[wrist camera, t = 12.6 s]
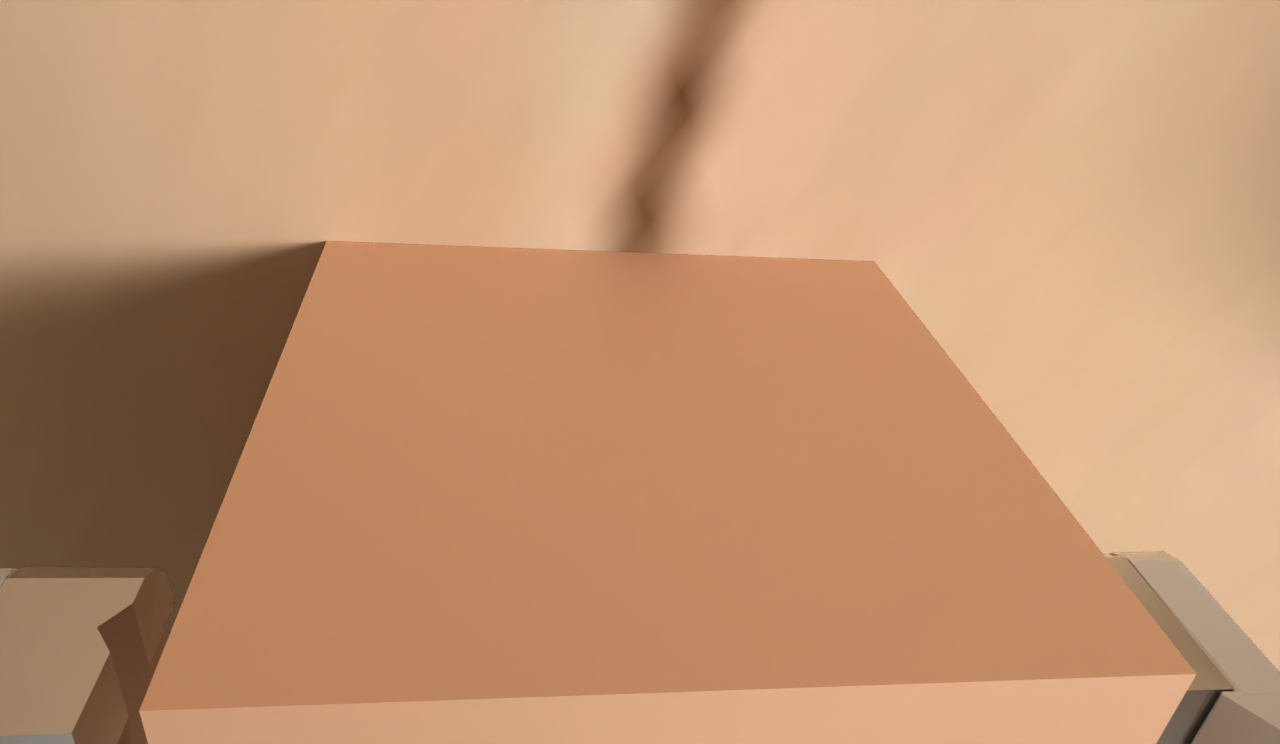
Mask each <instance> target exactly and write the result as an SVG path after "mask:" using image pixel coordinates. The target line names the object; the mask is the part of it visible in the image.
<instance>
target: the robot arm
mask: <svg viewBox="0 0 1280 744" xmlns="http://www.w3.org/2000/svg"><path fill="white" fill-rule="evenodd" d="M1103 555H1104V556H1105V557H1106V559H1107V560H1108V561H1109V562H1110V564H1111V565H1112V566H1113V568H1114V569H1115V570H1116V571H1117V573H1118V574H1119V575H1120V576H1121V578H1122V579H1123V580H1124V582H1125V583H1126V584H1127V585H1128V587H1129V588H1130V589H1131V591H1132V592H1133V593H1134V594H1135V596H1136V597H1137V598H1138V600H1139V601H1140V602H1141V603H1142V605H1143V606H1144V607H1145V608H1146V610H1147V611H1148V612H1149V614H1150V615H1151V616H1152V617H1153V619H1154V620H1155V621H1156V623H1157V624H1158V625H1159V626H1160V628H1161V629H1162V630H1163V632H1164V633H1165V634H1166V635H1167V637H1168V638H1169V639H1170V640H1171V642H1172V643H1173V644H1174V646H1175V647H1176V648H1177V649H1178V651H1179V652H1180V653H1181V655H1182V656H1183V657H1184V658H1185V660H1186V661H1187V662H1188V664H1189V665H1190V666H1191V667H1192V669H1193V670H1194V671H1195V672H1196V676H1195V678H1194V680H1193V681H1192V683H1191V685H1190V686H1189V688H1188V690H1187V691H1186V693H1185V695H1184V697H1183V698H1182V700H1181V702H1180V703H1179V705H1178V707H1177V709H1176V710H1175V712H1174V714H1173V715H1172V717H1171V719H1170V721H1169V722H1168V724H1167V726H1166V727H1165V729H1164V731H1163V733H1162V734H1161V736H1160V738H1159V739H1158V741H1157V743H1156V744H1280V672H1279V671H1278V670H1277V669H1276V668H1275V666H1274V665H1273V664H1272V663H1271V662H1270V661H1269V660H1268V658H1267V657H1266V656H1265V655H1264V654H1263V653H1262V652H1261V651H1260V649H1259V648H1258V647H1257V646H1256V645H1255V644H1254V643H1253V642H1252V640H1251V639H1250V638H1249V637H1248V636H1247V635H1246V634H1245V633H1244V631H1243V630H1242V629H1241V628H1240V627H1239V626H1238V625H1237V624H1236V622H1235V621H1234V620H1233V619H1232V618H1231V617H1230V616H1229V615H1228V613H1227V612H1226V611H1225V610H1224V609H1223V608H1222V607H1221V606H1220V604H1219V603H1218V602H1217V601H1216V600H1215V599H1214V598H1213V597H1212V595H1211V594H1210V593H1209V592H1208V591H1207V590H1206V589H1205V588H1204V586H1203V585H1202V584H1201V583H1200V582H1199V581H1198V580H1197V579H1196V577H1195V576H1194V575H1193V574H1192V573H1191V572H1190V571H1189V570H1188V568H1187V567H1186V566H1185V565H1184V564H1183V563H1182V562H1181V561H1180V560H1178V559H1177V558H1175V557H1173V556H1171V555H1169V554H1167V553H1166V552H1164V551H1156V552H1122V553H1111V554H1103ZM173 606H174V600H173V596H172V593H171V589H170V585H169V582H168V578H167V574H166V573H165V572H163V571H161V570H159V569H156V568H92V567H22V568H21V569H13V568H0V744H148V742H147V738H146V734H145V731H144V727H143V723H142V720H141V716H140V712H139V710H140V708H141V705H142V703H143V700H144V698H145V695H146V693H147V690H148V688H149V685H150V683H151V680H152V678H153V675H154V673H155V670H156V668H157V665H158V663H159V660H160V658H161V655H162V653H163V650H164V647H165V645H166V642H167V640H168V637H169V635H170V632H169V631H168V630H166V629H165V626H166V623H167V621H168V618H169V616H170V613H171V611H172V608H173Z"/></svg>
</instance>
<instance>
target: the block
mask: <svg viewBox="0 0 1280 744" xmlns="http://www.w3.org/2000/svg"><path fill="white" fill-rule="evenodd" d="M1195 676H1196V672H1195V671H1194V670H1193V669H1192V667H1191V666H1190V665H1189V664H1188V662H1187V661H1186V660H1185V658H1184V657H1183V656H1182V655H1181V653H1180V652H1179V651H1178V649H1177V648H1176V647H1175V646H1174V644H1173V643H1172V642H1171V640H1170V639H1169V638H1168V637H1167V635H1166V634H1165V633H1164V632H1163V630H1162V629H1161V628H1160V626H1159V625H1158V624H1157V623H1156V621H1155V620H1154V619H1153V617H1152V616H1151V615H1150V614H1149V612H1148V611H1147V610H1146V608H1145V607H1144V606H1143V605H1142V603H1141V602H1140V601H1139V600H1138V598H1137V597H1136V596H1135V594H1134V593H1133V592H1132V591H1131V589H1130V588H1129V587H1128V585H1127V584H1126V583H1125V582H1124V580H1123V579H1122V578H1121V576H1120V575H1119V574H1118V573H1117V571H1116V570H1115V569H1114V568H1113V566H1112V565H1111V564H1110V562H1109V561H1108V560H1107V559H1106V557H1105V556H1104V555H1103V553H1102V552H1101V551H1100V550H1099V548H1098V547H1097V546H1096V544H1095V543H1094V542H1093V541H1092V539H1091V538H1090V537H1089V535H1088V534H1087V533H1086V532H1085V530H1084V529H1083V528H1082V527H1081V525H1080V524H1079V523H1078V521H1077V520H1076V519H1075V518H1074V516H1073V515H1072V514H1071V512H1070V511H1069V510H1068V509H1067V507H1066V506H1065V505H1064V503H1063V502H1062V501H1061V500H1060V498H1059V497H1058V496H1057V495H1056V493H1055V492H1054V491H1053V489H1052V488H1051V487H1050V486H1049V484H1048V483H1047V482H1046V480H1045V479H1044V478H1043V477H1042V475H1041V474H1040V473H1039V471H1038V470H1037V469H1036V468H1035V466H1034V465H1033V464H1032V463H1031V461H1030V460H1029V459H1028V457H1027V456H1026V455H1025V454H1024V452H1023V451H1022V450H1021V448H1020V447H1019V446H1018V445H1017V443H1016V442H1015V441H1014V439H1013V438H1012V437H1011V436H1010V434H1009V433H1008V432H1007V431H1006V429H1005V428H1004V427H1003V425H1002V424H1001V423H1000V422H999V420H998V419H997V418H996V416H995V415H994V414H993V413H992V411H991V410H990V409H989V407H988V406H987V405H986V404H985V402H984V401H983V400H982V399H981V397H980V396H979V395H978V393H977V392H976V391H975V390H974V388H973V387H972V386H971V384H970V383H969V382H968V381H967V379H966V378H965V377H964V375H963V374H962V373H961V372H960V370H959V369H958V368H957V366H956V365H955V364H954V363H953V361H952V360H951V359H950V358H949V356H948V355H947V354H946V352H945V351H944V350H943V349H942V347H941V346H940V345H939V343H938V342H937V341H936V340H935V338H934V337H933V336H932V334H931V333H930V332H929V331H928V329H927V328H926V327H925V326H924V324H923V323H922V322H921V320H920V319H919V318H918V317H917V315H916V314H915V313H914V311H913V310H912V309H911V308H910V306H909V305H908V304H907V302H906V301H905V300H904V299H903V297H902V296H901V295H900V294H899V292H898V291H897V290H896V288H895V287H894V286H893V285H892V283H891V282H890V281H889V279H888V278H887V277H886V276H885V274H884V273H883V272H882V270H881V269H880V268H879V267H878V265H877V264H876V263H875V262H874V261H849V260H823V259H796V258H769V257H743V256H716V255H689V254H663V253H636V252H609V251H583V250H556V249H529V248H503V247H476V246H449V245H423V244H396V243H369V242H343V241H326V244H325V246H324V249H323V251H322V254H321V256H320V259H319V261H318V264H317V266H316V269H315V271H314V274H313V276H312V279H311V281H310V284H309V286H308V289H307V291H306V294H305V296H304V299H303V301H302V304H301V306H300V309H299V311H298V314H297V316H296V319H295V321H294V324H293V326H292V329H291V331H290V334H289V336H288V339H287V342H286V344H285V347H284V349H283V352H282V354H281V357H280V359H279V362H278V364H277V367H276V369H275V372H274V374H273V377H272V379H271V382H270V384H269V387H268V389H267V392H266V394H265V397H264V399H263V402H262V404H261V407H260V409H259V412H258V414H257V417H256V419H255V422H254V424H253V427H252V429H251V432H250V434H249V437H248V439H247V442H246V444H245V447H244V449H243V452H242V454H241V457H240V459H239V462H238V464H237V467H236V469H235V472H234V474H233V477H232V479H231V482H230V484H229V487H228V489H227V492H226V494H225V497H224V500H223V502H222V505H221V507H220V510H219V512H218V515H217V517H216V520H215V522H214V525H213V527H212V530H211V532H210V535H209V537H208V540H207V542H206V545H205V547H204V550H203V552H202V555H201V557H200V560H199V562H198V565H197V567H196V570H195V572H194V575H193V577H192V580H191V582H190V585H189V587H188V590H187V592H186V595H185V597H184V600H183V602H182V605H181V607H180V610H179V612H178V615H177V617H176V620H175V622H174V625H173V627H172V630H171V632H170V635H169V637H168V640H167V642H166V645H165V647H164V650H163V653H162V655H161V658H160V660H159V663H158V665H157V668H156V670H155V673H154V675H153V678H152V680H151V683H150V685H149V688H148V690H147V693H146V695H145V698H144V700H143V703H142V705H141V708H140V710H139V712H140V716H141V720H142V723H143V727H144V731H145V734H146V738H147V742H148V744H1156V743H1157V741H1158V739H1159V738H1160V736H1161V734H1162V733H1163V731H1164V729H1165V727H1166V726H1167V724H1168V722H1169V721H1170V719H1171V717H1172V715H1173V714H1174V712H1175V710H1176V709H1177V707H1178V705H1179V703H1180V702H1181V700H1182V698H1183V697H1184V695H1185V693H1186V691H1187V690H1188V688H1189V686H1190V685H1191V683H1192V681H1193V680H1194V678H1195Z"/></svg>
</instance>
